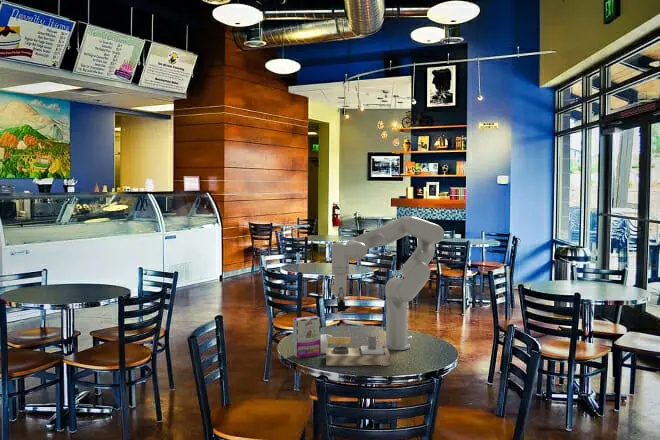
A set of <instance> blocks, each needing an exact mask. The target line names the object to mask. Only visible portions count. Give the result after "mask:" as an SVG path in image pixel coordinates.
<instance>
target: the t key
mask: <svg viewBox="0 0 660 440" xmlns="http://www.w3.org/2000/svg"><path fill="white" fill-rule="evenodd" d="M327 344H335V345H336V344H337V346H343V345H344V344H347V345H348V344H352V337H351V336H332V337H328V343H327Z"/></svg>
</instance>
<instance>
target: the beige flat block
mask: <svg viewBox="0 0 660 440" xmlns="http://www.w3.org/2000/svg"><path fill="white" fill-rule="evenodd" d="M382 348H383V350H384V354H362V353H361V347H349V346H345V345H342V346H338V345H335V346H334V345H333V347H328V348H326V354H325V356H326V357H325V359H326V360H325V361H326V363H325V364H326V366H362V365H381V366H382V365H383V367H385V366H387V367H390V366H391V353H390V350H389V349H387V348H384V347H382Z"/></svg>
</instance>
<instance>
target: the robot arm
mask: <svg viewBox="0 0 660 440" xmlns="http://www.w3.org/2000/svg"><path fill="white" fill-rule="evenodd" d="M406 236H412V237H414V238H417V247H415V250H414V251H413V253H412V254H411V255H410V257H409V258H408V259H407V260H406V261H405V262H404V264H403V265H402V267H401V269H400V270H401V274H402V276H403V278H400V277H392V278H390V279H388V280H387V282H386V283H385V286H384V287H385V288H384V296H385V303H386V313H385V314H386V315H385V316H386V321H385V324H386V326H385V327H386V328H385V330H386V331H385V335H386V336H385V342H383V343H382V348H387V349H388V350H389V351H390V350H391V351H405V350H409V349H411V344H410V343H409V341H413V340H414V339H413V336H412V335H408V314H409V313H408V302H412V300H414V298H416V296H417V295H418V294H419V293H420V291H421V290H422V289H423V288H424V286H425V285H426V284H427V282H429V281H428V280H429V279H430V276H431V268H430V266H429V263H430V262H431V261H432V259H433V258H434V256H435V252H436V251H435V250H436V244H439V243H440V242H442V241H443V239H444V238H445V230H444V229H443V228H442V226H440V225H439V224H436V223H433V222H430V221H429V220H425V219H422V218H419V217H417V216H412V215H411V216H410V215H404V216H401V217H398V218H397V219H395V220H392V221H391V222H389V223H386V224H384V225H382V226H380V227H378V228H375V229H372V230H370V231H367V232H364V233H362V234H359V235H357V236H355V237H353V238H351V239H350V240H348V241H347V242H343V241H341V242H338V241H337V242H333V243H332V244H331V274H332V275H333V276H334V277H333V278H334V279H333V282H334V283H333V285H334V287H333V289H334V297H335V298H336V299H337V300H336V302H337V303H336V305H337V312H341V313H342V312H346V302H345V301H346V300H345V298H346V297H347V275H350V264H349V263H350V262H349V261H350V259H354V260H355V259H356V260H362V259H363V258H365V257H366V256H367V254H368V250H369V249H372V248H376V247H383V246H387V245H390V244H392V243H394V242H396V241H397V240H399V239H402V238H404V237H406Z"/></svg>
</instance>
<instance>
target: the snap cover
mask: <svg viewBox="0 0 660 440" xmlns="http://www.w3.org/2000/svg"><path fill="white" fill-rule="evenodd" d="M367 339H368V340H367V341H368V342H367V345H360V348H361V353H362V354H384V350H383V348H384V347H383V345H377V336H376V335H369V336H367Z"/></svg>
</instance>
